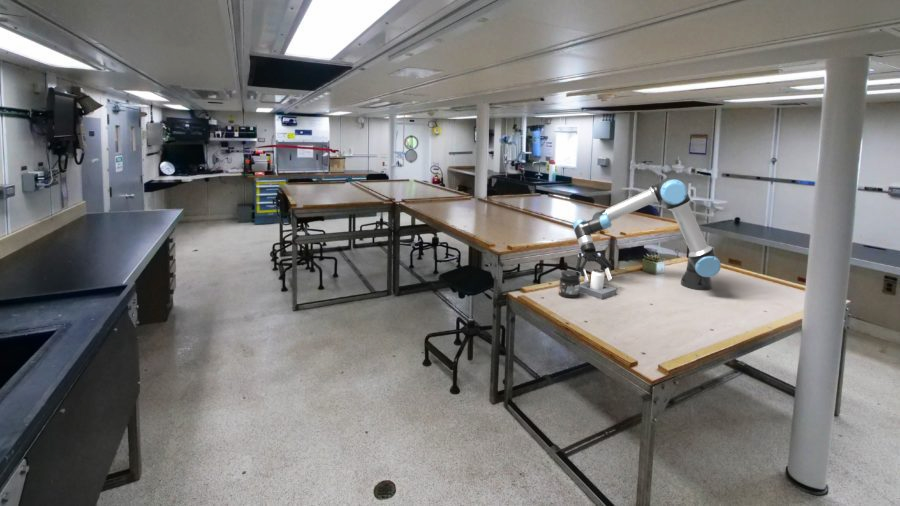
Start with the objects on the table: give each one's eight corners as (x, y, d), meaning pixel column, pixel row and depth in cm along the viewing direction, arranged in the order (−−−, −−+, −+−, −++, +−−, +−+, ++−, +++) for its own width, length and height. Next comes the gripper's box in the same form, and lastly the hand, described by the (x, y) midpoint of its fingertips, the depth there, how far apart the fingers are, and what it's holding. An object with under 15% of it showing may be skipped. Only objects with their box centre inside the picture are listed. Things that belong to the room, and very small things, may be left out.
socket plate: (616, 294, 243) (617, 287, 242) (601, 299, 235) (602, 292, 234) (590, 285, 255) (591, 279, 254) (575, 290, 247) (576, 283, 246)
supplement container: (559, 290, 247) (561, 268, 244) (579, 293, 244) (582, 271, 240) (556, 296, 237) (558, 274, 234) (578, 299, 234) (580, 277, 231)
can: (589, 293, 243) (591, 271, 240) (590, 289, 249) (592, 268, 246) (601, 295, 241) (604, 273, 238) (602, 291, 247) (605, 269, 244)
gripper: (604, 248, 258) (616, 282, 248) (563, 250, 252) (573, 285, 242) (610, 241, 251) (623, 276, 241) (568, 243, 246) (579, 278, 236)
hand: (598, 280), depth 242 cm, fingers open, 13 cm apart
